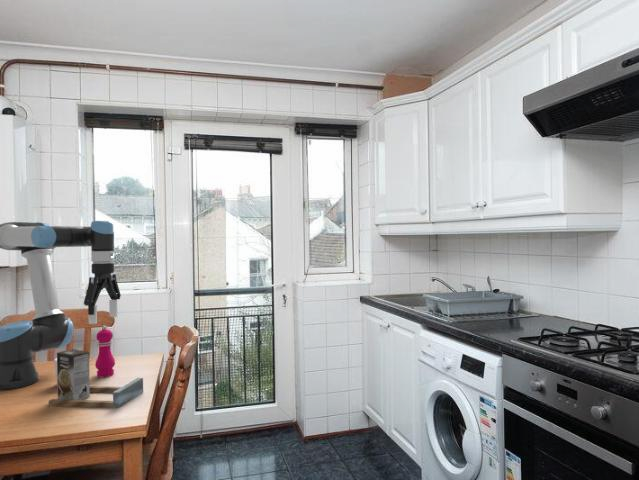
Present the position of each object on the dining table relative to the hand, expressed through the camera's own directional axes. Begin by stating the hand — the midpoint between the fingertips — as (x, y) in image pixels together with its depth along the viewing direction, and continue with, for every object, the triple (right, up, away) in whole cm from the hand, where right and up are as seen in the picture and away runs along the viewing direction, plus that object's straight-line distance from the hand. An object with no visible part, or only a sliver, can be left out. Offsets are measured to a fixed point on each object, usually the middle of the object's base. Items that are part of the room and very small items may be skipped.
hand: (103, 320), depth 163 cm
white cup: (-17, -26, +6) cm, 32 cm away
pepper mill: (-8, -26, +17) cm, 32 cm away
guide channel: (+2, -25, -10) cm, 27 cm away
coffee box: (-6, -26, -9) cm, 28 cm away
